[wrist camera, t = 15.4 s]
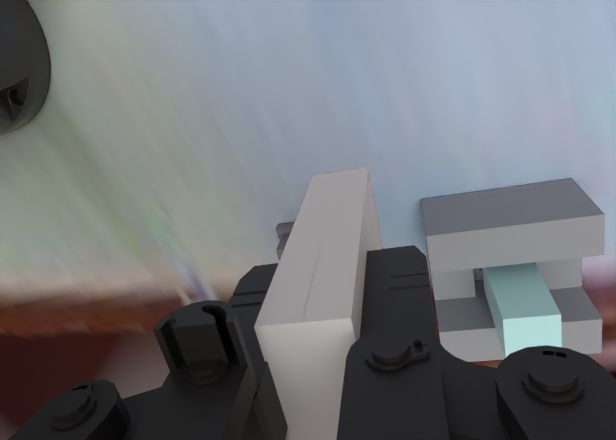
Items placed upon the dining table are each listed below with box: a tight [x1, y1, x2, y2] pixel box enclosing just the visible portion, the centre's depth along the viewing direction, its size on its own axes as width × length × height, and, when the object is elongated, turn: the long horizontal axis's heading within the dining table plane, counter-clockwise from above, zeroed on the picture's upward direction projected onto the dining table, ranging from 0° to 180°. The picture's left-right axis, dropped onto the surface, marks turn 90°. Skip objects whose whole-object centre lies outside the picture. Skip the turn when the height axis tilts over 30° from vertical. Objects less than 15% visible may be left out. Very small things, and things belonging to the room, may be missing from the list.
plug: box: [482, 262, 562, 358], centre depth 39 cm, size 4×4×12 cm
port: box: [421, 178, 605, 362], centre depth 41 cm, size 12×12×7 cm
